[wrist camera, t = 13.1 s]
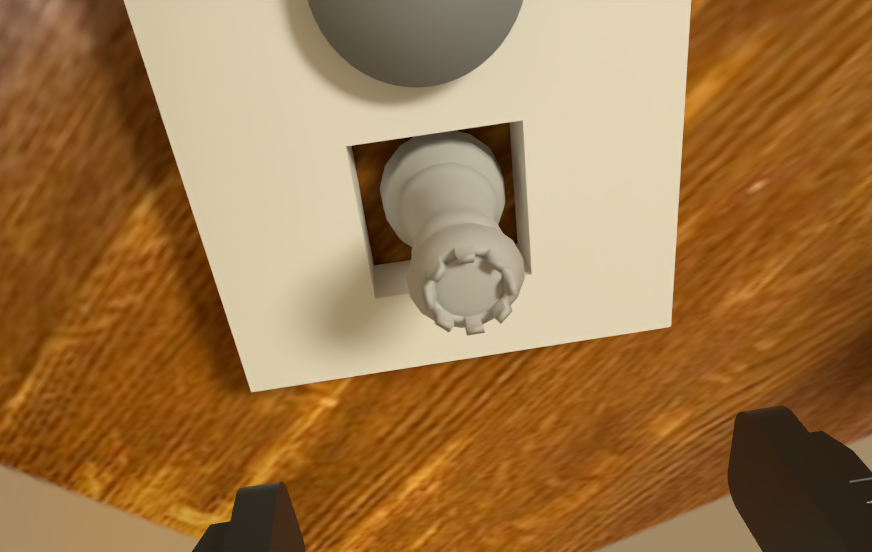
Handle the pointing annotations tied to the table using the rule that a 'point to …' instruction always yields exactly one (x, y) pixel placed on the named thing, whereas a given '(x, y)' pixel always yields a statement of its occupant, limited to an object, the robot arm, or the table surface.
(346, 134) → the carrier plate
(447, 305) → the rook chess piece
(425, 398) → the table surface
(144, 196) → the table surface
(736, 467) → the robot arm
